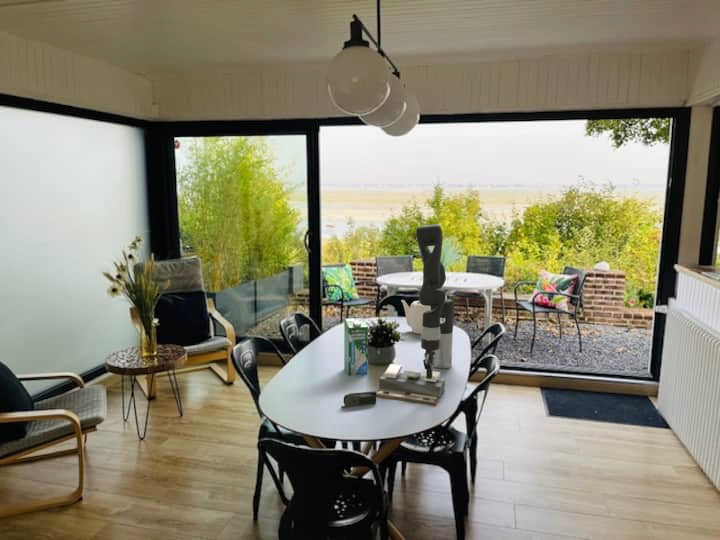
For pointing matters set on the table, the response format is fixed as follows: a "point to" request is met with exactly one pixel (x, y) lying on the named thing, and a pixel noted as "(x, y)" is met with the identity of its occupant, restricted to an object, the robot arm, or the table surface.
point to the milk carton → (355, 346)
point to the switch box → (411, 389)
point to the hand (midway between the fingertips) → (429, 377)
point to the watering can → (415, 315)
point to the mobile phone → (359, 399)
